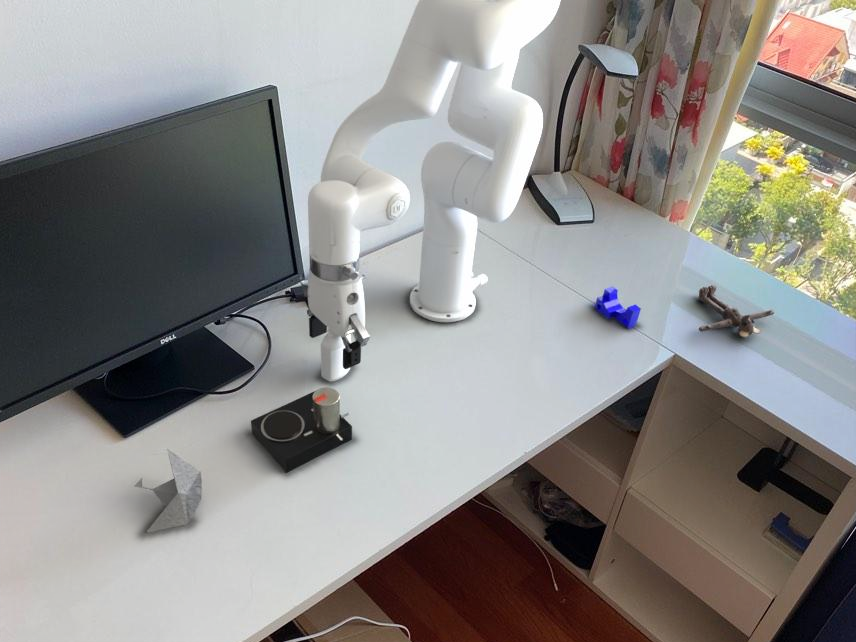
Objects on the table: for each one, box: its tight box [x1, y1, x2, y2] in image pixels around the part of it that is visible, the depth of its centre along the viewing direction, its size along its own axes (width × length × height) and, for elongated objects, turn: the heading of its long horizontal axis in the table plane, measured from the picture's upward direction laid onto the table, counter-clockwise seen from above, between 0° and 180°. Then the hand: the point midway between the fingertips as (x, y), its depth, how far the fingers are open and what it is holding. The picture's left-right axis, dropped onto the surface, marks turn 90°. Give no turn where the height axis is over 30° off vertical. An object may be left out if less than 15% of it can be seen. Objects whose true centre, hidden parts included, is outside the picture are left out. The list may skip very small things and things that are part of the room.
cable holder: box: [594, 286, 642, 329], centre depth 154 cm, size 8×4×4 cm, turn 32°
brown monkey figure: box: [698, 285, 775, 338], centre depth 156 cm, size 18×4×14 cm
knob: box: [313, 386, 341, 434], centre depth 122 cm, size 4×4×6 cm
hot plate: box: [250, 390, 353, 474], centre depth 125 cm, size 13×12×3 cm
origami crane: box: [134, 448, 203, 534], centre depth 113 cm, size 12×6×9 cm
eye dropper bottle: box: [320, 327, 352, 383], centre depth 134 cm, size 4×6×12 cm
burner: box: [261, 411, 305, 442], centre depth 123 cm, size 7×7×1 cm
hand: (334, 349), depth 134 cm, fingers open, 9 cm apart
